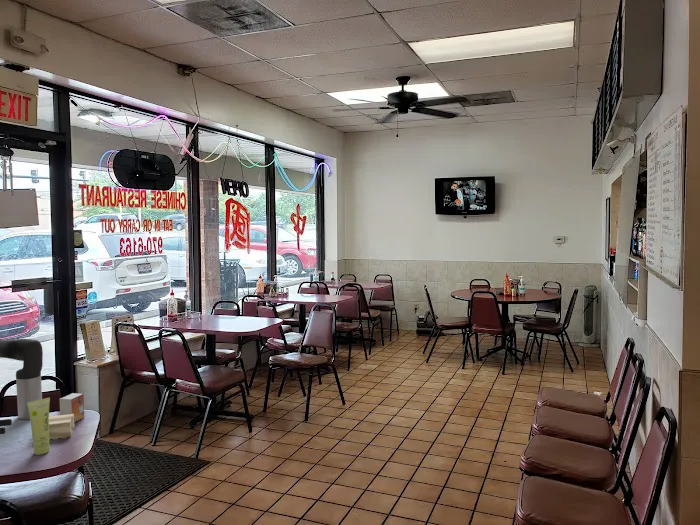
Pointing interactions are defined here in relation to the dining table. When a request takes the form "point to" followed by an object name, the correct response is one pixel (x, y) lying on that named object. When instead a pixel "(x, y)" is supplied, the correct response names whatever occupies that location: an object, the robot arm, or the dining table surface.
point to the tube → (40, 424)
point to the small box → (73, 405)
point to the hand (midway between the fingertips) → (8, 426)
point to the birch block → (61, 426)
